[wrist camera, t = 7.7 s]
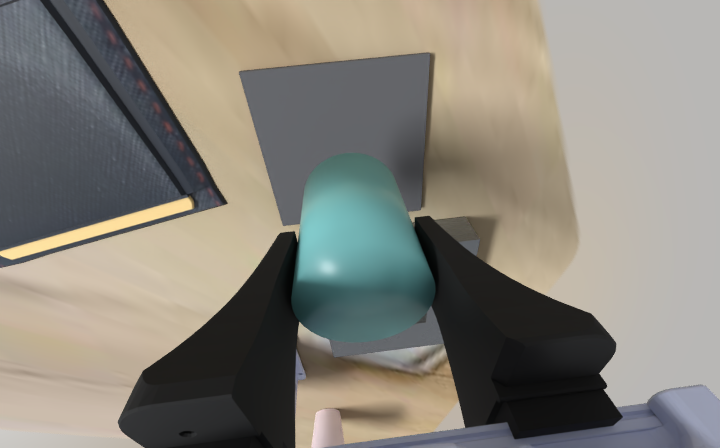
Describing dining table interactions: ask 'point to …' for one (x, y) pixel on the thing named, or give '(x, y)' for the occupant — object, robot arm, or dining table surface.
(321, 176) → the end cap
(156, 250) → the dining table surface
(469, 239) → the housing
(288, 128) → the mat
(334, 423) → the smoothie
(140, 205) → the grey book
